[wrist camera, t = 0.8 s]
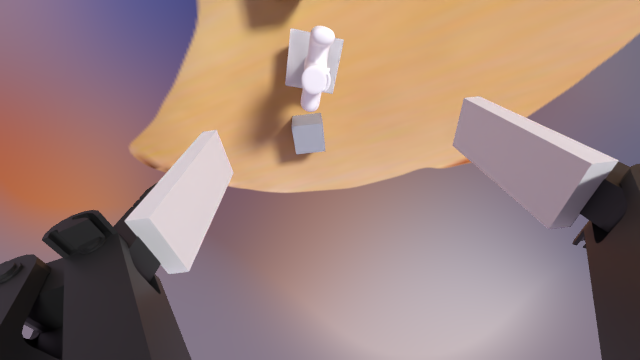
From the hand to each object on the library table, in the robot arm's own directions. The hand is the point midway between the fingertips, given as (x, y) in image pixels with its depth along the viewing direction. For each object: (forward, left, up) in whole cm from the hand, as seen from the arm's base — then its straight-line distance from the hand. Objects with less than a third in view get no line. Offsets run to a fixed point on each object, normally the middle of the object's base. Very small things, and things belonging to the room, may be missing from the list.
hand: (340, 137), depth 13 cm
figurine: (0, -1, -29) cm, 29 cm away
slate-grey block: (+11, -3, -29) cm, 31 cm away
